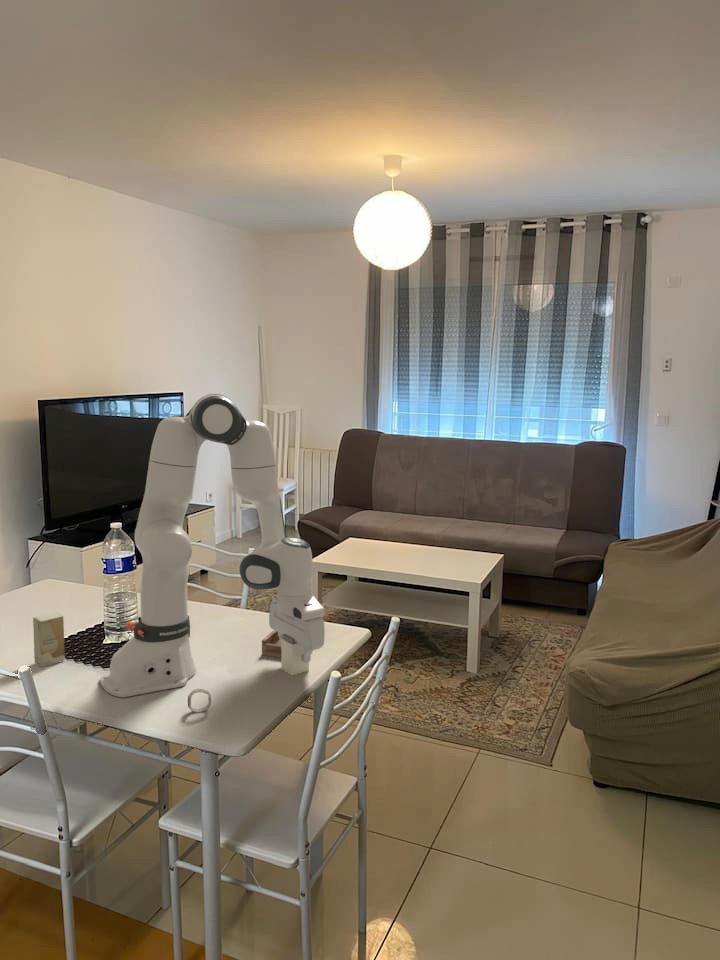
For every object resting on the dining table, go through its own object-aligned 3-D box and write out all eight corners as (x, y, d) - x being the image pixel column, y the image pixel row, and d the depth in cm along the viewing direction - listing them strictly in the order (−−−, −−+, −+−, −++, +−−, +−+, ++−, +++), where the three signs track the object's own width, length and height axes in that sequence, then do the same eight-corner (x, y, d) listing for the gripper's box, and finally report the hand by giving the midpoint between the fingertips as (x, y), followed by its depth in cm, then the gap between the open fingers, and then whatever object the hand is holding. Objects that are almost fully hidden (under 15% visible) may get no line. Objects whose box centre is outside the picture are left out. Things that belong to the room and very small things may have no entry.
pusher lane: (293, 659, 188) (293, 637, 187) (261, 654, 190) (261, 633, 189) (323, 629, 209) (323, 609, 209) (294, 625, 212) (294, 605, 211)
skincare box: (41, 668, 180) (38, 621, 178) (34, 663, 183) (31, 617, 181) (66, 660, 185) (64, 615, 183) (58, 656, 188) (56, 611, 186)
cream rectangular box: (292, 675, 178) (292, 640, 176) (281, 668, 182) (281, 634, 180) (308, 670, 181) (309, 635, 180) (298, 664, 185) (298, 630, 183)
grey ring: (187, 709, 160) (187, 688, 159) (210, 706, 161) (210, 686, 160) (188, 715, 157) (188, 694, 156) (211, 712, 158) (211, 691, 158)
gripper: (262, 594, 185) (263, 645, 187) (307, 616, 169) (307, 671, 171) (283, 589, 189) (283, 639, 191) (329, 611, 173) (328, 665, 175)
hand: (295, 655), depth 181 cm, fingers open, 8 cm apart
